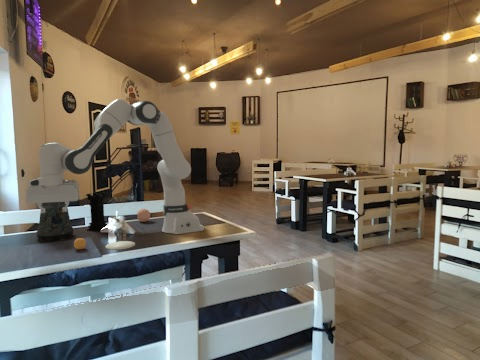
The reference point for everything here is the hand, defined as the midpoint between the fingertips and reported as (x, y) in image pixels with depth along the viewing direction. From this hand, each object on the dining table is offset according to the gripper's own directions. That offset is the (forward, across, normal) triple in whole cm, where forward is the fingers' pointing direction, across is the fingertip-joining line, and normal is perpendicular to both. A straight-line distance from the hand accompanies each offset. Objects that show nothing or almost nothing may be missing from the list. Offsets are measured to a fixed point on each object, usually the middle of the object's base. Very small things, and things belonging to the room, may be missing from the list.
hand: (54, 212), depth 151 cm
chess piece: (+18, -14, -38) cm, 44 cm away
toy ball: (+17, -39, -48) cm, 65 cm away
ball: (+15, -10, 0) cm, 18 cm away
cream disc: (+17, -27, 0) cm, 32 cm away
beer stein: (+18, +6, -28) cm, 34 cm away
